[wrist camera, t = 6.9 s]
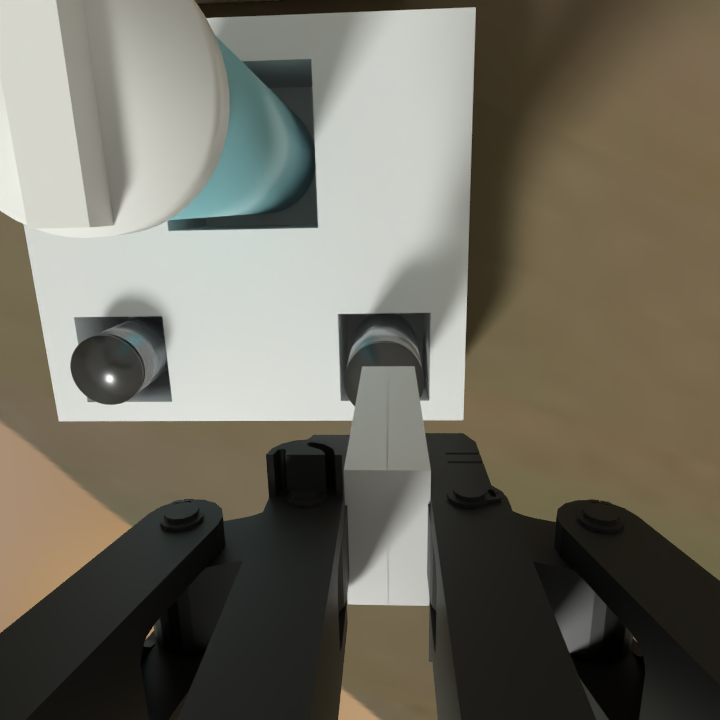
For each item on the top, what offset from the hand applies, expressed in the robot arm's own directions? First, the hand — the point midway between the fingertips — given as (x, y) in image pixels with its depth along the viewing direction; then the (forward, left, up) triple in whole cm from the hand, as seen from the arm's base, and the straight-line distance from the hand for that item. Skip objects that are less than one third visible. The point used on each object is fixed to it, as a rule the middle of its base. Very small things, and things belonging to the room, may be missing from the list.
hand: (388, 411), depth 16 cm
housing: (-5, +5, -10) cm, 12 cm away
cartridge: (-5, +8, -9) cm, 13 cm away
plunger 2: (0, 0, -7) cm, 7 cm away
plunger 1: (-10, 0, -9) cm, 13 cm away
